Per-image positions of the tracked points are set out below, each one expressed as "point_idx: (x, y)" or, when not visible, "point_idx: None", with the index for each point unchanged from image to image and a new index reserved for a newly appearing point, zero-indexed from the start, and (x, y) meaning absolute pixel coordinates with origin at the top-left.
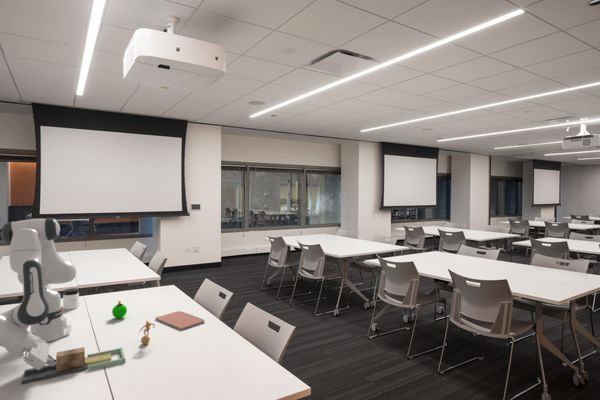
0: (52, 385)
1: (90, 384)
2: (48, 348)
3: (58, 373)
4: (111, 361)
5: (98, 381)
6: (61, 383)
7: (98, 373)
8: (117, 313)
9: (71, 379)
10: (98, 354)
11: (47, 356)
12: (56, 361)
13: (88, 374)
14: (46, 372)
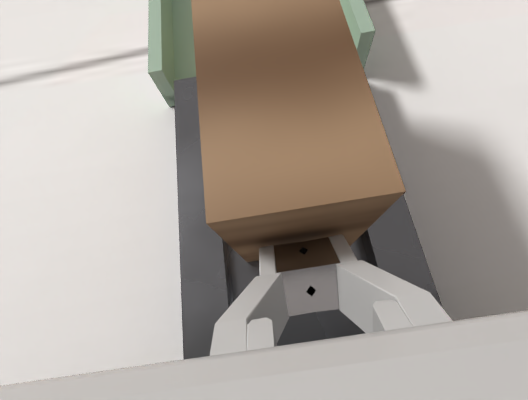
0: (496, 247)
1: (519, 38)
2: (43, 396)
3: (407, 215)
4: None
5: (486, 11)
6: (473, 193)
7: (378, 27)
8: None
9: (423, 144)
10: (166, 27)
11: (521, 317)
12: (379, 213)
13: (375, 69)
14: (293, 337)
